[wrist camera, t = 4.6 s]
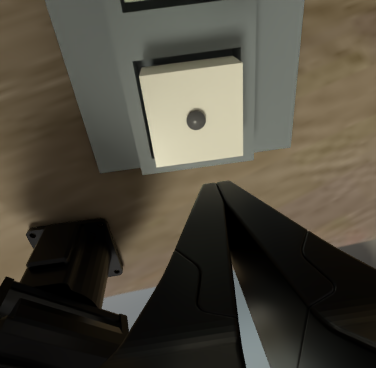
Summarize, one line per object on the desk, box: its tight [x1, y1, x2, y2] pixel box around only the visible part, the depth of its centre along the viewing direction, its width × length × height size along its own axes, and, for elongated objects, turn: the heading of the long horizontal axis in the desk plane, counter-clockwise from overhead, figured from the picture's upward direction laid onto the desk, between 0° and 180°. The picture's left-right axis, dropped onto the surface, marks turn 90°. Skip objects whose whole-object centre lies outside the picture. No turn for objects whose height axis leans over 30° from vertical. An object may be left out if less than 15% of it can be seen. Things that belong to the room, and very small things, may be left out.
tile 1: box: [139, 56, 243, 168], centre depth 16 cm, size 5×5×2 cm
